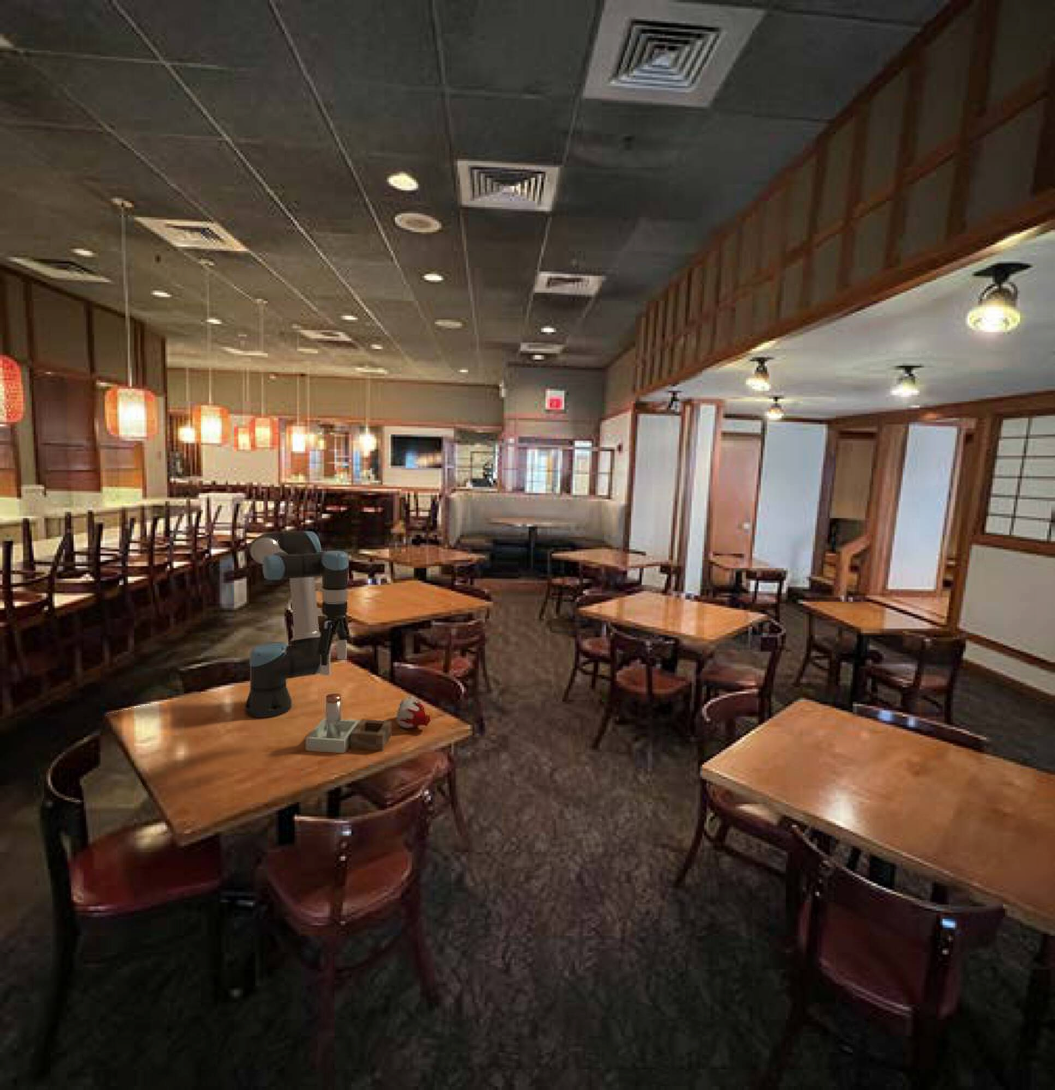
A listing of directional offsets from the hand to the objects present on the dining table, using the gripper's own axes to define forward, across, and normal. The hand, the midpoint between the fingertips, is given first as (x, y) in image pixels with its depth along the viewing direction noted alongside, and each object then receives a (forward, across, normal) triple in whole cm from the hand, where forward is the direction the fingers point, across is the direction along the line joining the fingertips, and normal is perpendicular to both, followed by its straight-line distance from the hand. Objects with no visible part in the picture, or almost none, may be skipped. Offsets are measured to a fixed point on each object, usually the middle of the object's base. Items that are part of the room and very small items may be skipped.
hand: (334, 666), depth 174 cm
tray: (+25, 0, 0) cm, 25 cm away
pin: (+24, 0, 0) cm, 24 cm away
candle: (+25, -14, +22) cm, 36 cm away
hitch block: (+25, 0, +12) cm, 28 cm away
